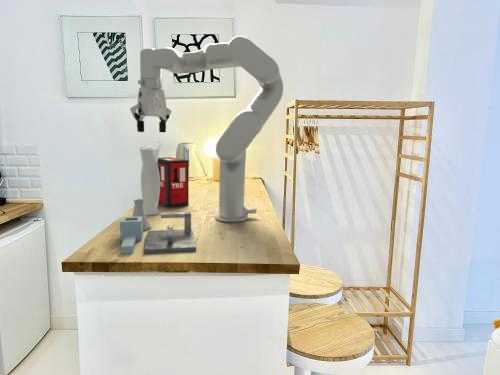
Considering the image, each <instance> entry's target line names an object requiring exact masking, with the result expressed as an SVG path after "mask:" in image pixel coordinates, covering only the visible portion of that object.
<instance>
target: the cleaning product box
mask: <svg viewBox="0 0 500 375" xmlns="http://www.w3.org/2000/svg"><path fill="white" fill-rule="evenodd" d="M157 165H158V169H159V174H160V194H159V202H158V205H161V206H163V207H165V208H169V209H173V208H181V207H188V206H189V205H190V204H189V202H190V201H189V200H190V199H189V198H190V195H189V160H188V159H184V158H183V159H182V158H176V157H166V156H165V157H158V161H157Z"/></svg>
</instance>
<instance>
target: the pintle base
mask: <svg viewBox="0 0 500 375" xmlns="http://www.w3.org/2000/svg"><path fill="white" fill-rule="evenodd" d="M160 213H161V214H160V218H161V219H178V218H179V219H181V218H183V219H184V227H183V229H174V225H167V229H166V230H163V229H162V230H161V229H160V230H147V232H146V238H145V244H144V248H143V254H144V255H147V254H166V253H167V254H168V253H187V252H189V253H190V252H197V244H196V240H195V236H194V231H193V228H192V212H191V211H184V212H183V211H180V212H179V211H178V212H177V211H176V212H175V211H174V212H172V211H171V212H160Z"/></svg>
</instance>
